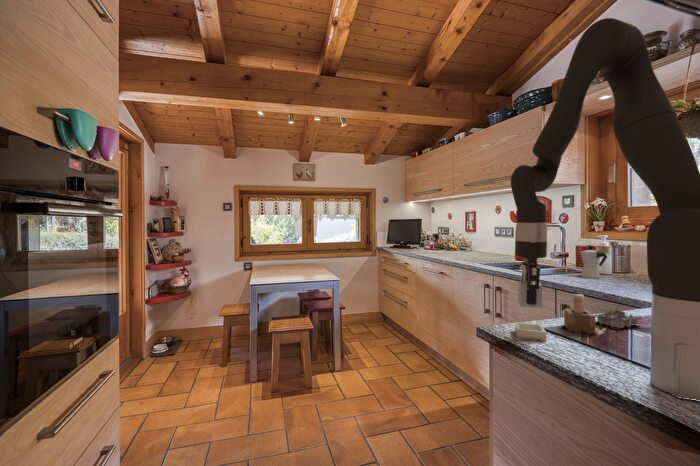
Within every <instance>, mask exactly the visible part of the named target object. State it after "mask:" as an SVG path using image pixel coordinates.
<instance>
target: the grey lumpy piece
mask: <svg viewBox="0 0 700 466" xmlns="http://www.w3.org/2000/svg"><path fill="white" fill-rule="evenodd" d="M595 317H596V318H597V322H596V323H598V322H599V323H601V324H610V325H611V326H613V327H624V325H628V326H631V324H639V321H640V320H639V319H641V318H642V316H638V315H635V316H634V315H633V314H629V315H626V312H625V311H623V310H620V309H618V307H613V308H610V309H609V310H608V311H605V312H603V313H598V314H595ZM601 324H600V325H601ZM631 327H632V326H631ZM624 328H625V327H624Z"/></svg>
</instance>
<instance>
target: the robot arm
mask: <svg viewBox="0 0 700 466" xmlns="http://www.w3.org/2000/svg"><path fill="white" fill-rule="evenodd" d="M646 43H647V42H646V39H645V37H644V33H642V30H641V29H639V28H638V27H637V26H636V25H633V24H632V23H628V22H625V21H623V20H620V19H617V18H614V17H613V18H611V17H607V18H602V19H600V20H597V21H595V22H594V23H593V24H591V25H590V26H589V27H588V28H586V29H585V31H584V32H583V34H582V35H581V36H580V38H579V40H578V42H577V44H576V46H575V49H574V51H573V53H572V55H571V60H570V62H569V65H568V67H567V70H566V73H565V77H564V78H563V81H562V84H561V87H560V89H559V92H558V94H557V97H556V101H555V102H554V105H553V108H552V109H551V112H550V114H549V117H548V119H547V121H546V122H545V125H544V126H543V128H542V130H541V131H540V134H539V135H538V137H537V139H536V141H535V142H534V145H533V148H532V153H533V155H534V156H536V157H537V162H536V164H535V165H533V164H521V165H519V166H517V167H516V168H515V169H514V170H513V172H512V174H511V177H510V187H511V194H512V196H513V200H514V203H515V207H516V224H515V229H514V230H515V231H514V232H515V235H514V237H515V238H514V255H515V256H516V257H518V258H523V259H524V260H523V261H521V262H520V263H521V265H520V267H521V278H522V279H521V281H526V289H527V304H531V305H535V304H536V295H537V290H539V283H540V277H541V276H540V275H541V265H540V264H538V259H546V257H547V256H548V255H547V253H548V252H547V251H548V228H547V205H546V202H545V201H542V200H540V199H538V197H537V193H541V192H544V191H546V190H547V189H549V188H550V187H551V186H552V185H553V184H554V182H555V181H556V177H557V175H558V171H559V168H560V165H561V162H562V157H563V155H564V154H565V152H566V150H567V148H568V147H569V145H570V143H571V142H572V140H573V138H574V137H575V135H576V133H577V130H578V128H579V125H580V122H581V117H582V112H583V106H584V103H585V99H586V96H587V93H588V90H589V89H590V87H591V84H592V82H593V81H594V79H595V78H596V76H597V75H598V73H599V72H600V74H602V76H603V77H604V78H605V80H606V81H607V84H608V85H609V87H610V90H611V92H612V94H613V101H614V105H613V107H614V108H613V113H612V114H613V115H612V129H613V132H614V135H615V139H616V141H617V143H618V147H619V149H620V151H621V154H622V155H623V157H624V159H625V160H626V162H627V164H629V166H630V168H631V169H632V170H633V172H634V173H636V174H637V176H638V177H639V178H640V180H642V182H643V183H644V184H645V186H646V187H647V188H648V190H649V191H650V192H651V194H652V196H653V197H654V201H655V203H656V205H657V208H658V212H659V213H660V214H659V215H658V216H656V217H655V218H654V219H653V221H651V223H650V225H649V227H648V229H647V235H646V259H647V260H646V264H647V265H646V266H647V269H646V270H647V276H648V279H649V282H650V284H651V314H650V315H651V316H650V321H651V323H650V325H651V326H650V361H649V362H650V367H649V368H650V369H649V371H650V373H649V374H650V376H649V377H650V378H649V381H651V382H650V384H652V385H653V386H654V385H655V386H654V387H655V388H657V387H658V388H657V389H659V388H660V389H659V390H661V389H662V390H661V391H663V390H664V391H663V392H665V391H666V392H665V393H667V392H669V393H668V394H670V393H672V394H674V395H675V396H677V397H681V398H689V399H696V400H700V169H699V167H698V164H697V161H696V158H695V155H694V153H693V151H692V148H691V146H690V143H689V141H688V138H687V136H686V132H685V131H684V128H683V126H682V124H681V122H680V120H679V117H678V116H677V113H676V111H675V110H674V107H673V106H672V104H671V102H670V100H669V99H668V96H667V94H666V92H665V89H664V87H663V86H662V84H661V83H660V81H659V79H658V77H657V76H656V72H655V71H654V68H653V65H652V60H651V58H650V54H649V50H648V47H647V44H646ZM530 282H534V283H535V285H532V284H530ZM672 394H671V395H672ZM674 395H673V396H674ZM675 396H674V397H675Z"/></svg>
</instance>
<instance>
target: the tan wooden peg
mask: <svg viewBox="0 0 700 466" xmlns="http://www.w3.org/2000/svg"><path fill="white" fill-rule="evenodd" d="M584 306H585V295H584V294H582V293H581V294H579V293H573V308H572V309H573V313H577V314H584V310H585V309H584V308H585V307H584Z"/></svg>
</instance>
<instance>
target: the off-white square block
mask: <svg viewBox="0 0 700 466" xmlns="http://www.w3.org/2000/svg"><path fill="white" fill-rule="evenodd" d="M530 284H532V285H535V283H534V282H530ZM517 286H518V288H517V291H518V293H517V296H518V297H517V299H518V300H517V303H518V304H519V307H524V308H537V309H542V308H543V284H541V283H540V282H539V290H537V295H536V304H535V305H531V304H527V289H526V281H522V280H518V285H517Z"/></svg>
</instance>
